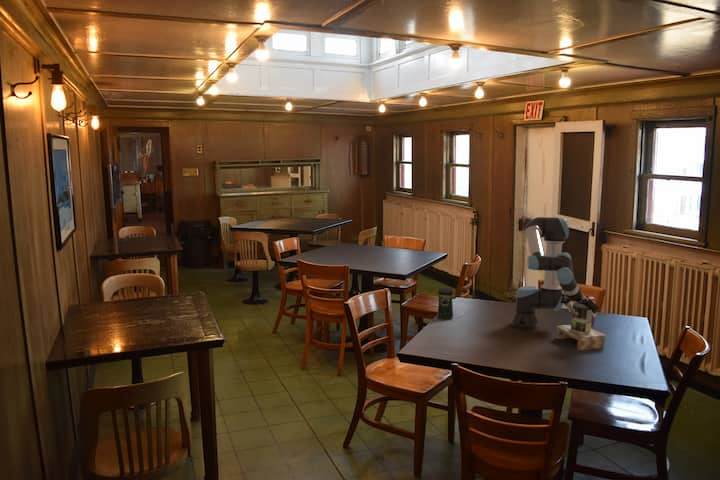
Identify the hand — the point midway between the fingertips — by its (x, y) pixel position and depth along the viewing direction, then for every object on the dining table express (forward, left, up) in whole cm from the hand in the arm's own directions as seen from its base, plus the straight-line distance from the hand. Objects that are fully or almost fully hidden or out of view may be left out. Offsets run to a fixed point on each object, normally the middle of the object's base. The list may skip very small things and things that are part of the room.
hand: (583, 312), depth 313 cm
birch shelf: (-1, 0, -17) cm, 17 cm away
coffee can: (-1, 0, -10) cm, 10 cm away
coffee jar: (-54, +59, -17) cm, 81 cm away
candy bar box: (+23, +29, -17) cm, 41 cm away
